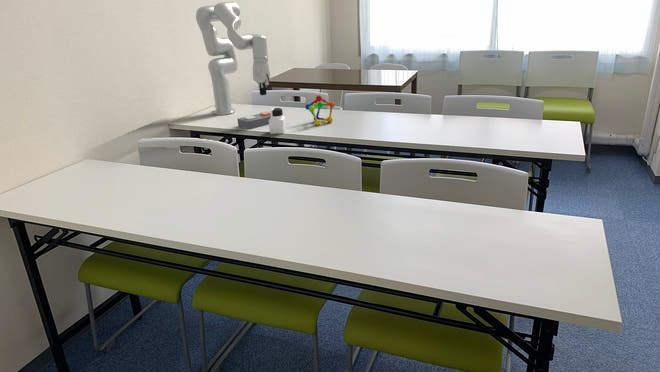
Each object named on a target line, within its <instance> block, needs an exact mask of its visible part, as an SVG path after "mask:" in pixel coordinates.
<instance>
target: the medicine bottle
mask: <svg viewBox="0 0 660 372" xmlns="http://www.w3.org/2000/svg"><path fill="white" fill-rule="evenodd" d="M269 112H270V114H271V118H270V119H269V124H268V125H269V126H268V127H269V129H268V130H269V134H272V135H274V134H277V135H278V134H280V135H281V134H284V133H286V131H287V123H286V116H284V113H283V109H282V108H281V107H273V108H271V109H270V111H269Z"/></svg>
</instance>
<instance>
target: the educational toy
mask: <svg viewBox="0 0 660 372" xmlns="http://www.w3.org/2000/svg"><path fill="white" fill-rule="evenodd" d="M323 102H324V103H323ZM323 106H326V107H328V106H329V108H330V110H329V116H328V117H320V116H319V115H320V111H321V108H323ZM335 106H336V105H335V102H334V101H330V102H329V101H327V100H325V99H323V98H322V96H321V94H320V95H319V94H318V95H316V97H315V100H314V101H312V102H311V103H307V104H305V109H306V110H308V111H309V112H310V113H311V115H312V117H313V121H314V125H315V126H320V124H321V123H324V122H325V123H326V122H327V123H333V119H334V118H333V117H332V113H333V108H335ZM316 107H318V109H317V113H316V114H315V108H316Z"/></svg>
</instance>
